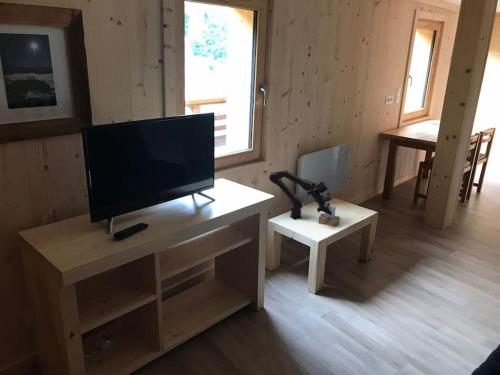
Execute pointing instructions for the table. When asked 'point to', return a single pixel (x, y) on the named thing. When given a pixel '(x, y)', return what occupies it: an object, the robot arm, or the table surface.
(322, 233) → the table surface
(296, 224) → the table surface
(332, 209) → the cover plate
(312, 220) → the table surface
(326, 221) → the slotted case
